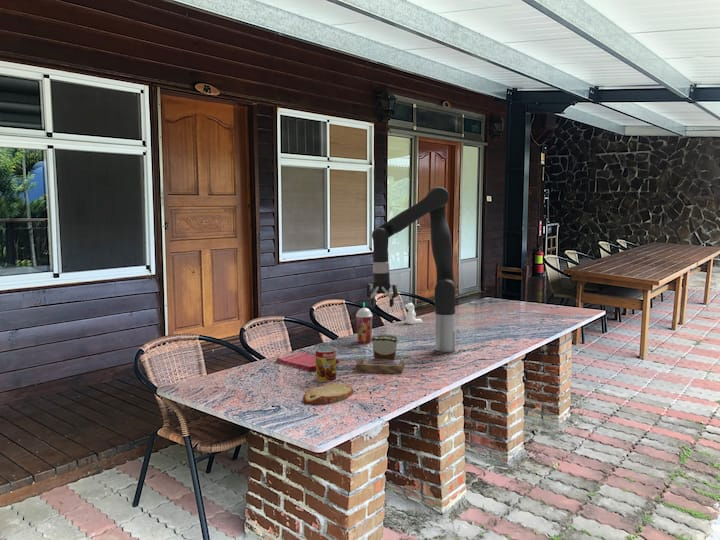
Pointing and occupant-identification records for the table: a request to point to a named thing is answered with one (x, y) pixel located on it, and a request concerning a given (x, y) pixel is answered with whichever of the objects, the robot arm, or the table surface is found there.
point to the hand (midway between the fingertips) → (382, 306)
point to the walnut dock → (379, 367)
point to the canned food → (325, 364)
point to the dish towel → (300, 361)
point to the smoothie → (364, 324)
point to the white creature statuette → (411, 315)
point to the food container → (384, 347)
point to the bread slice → (327, 394)
